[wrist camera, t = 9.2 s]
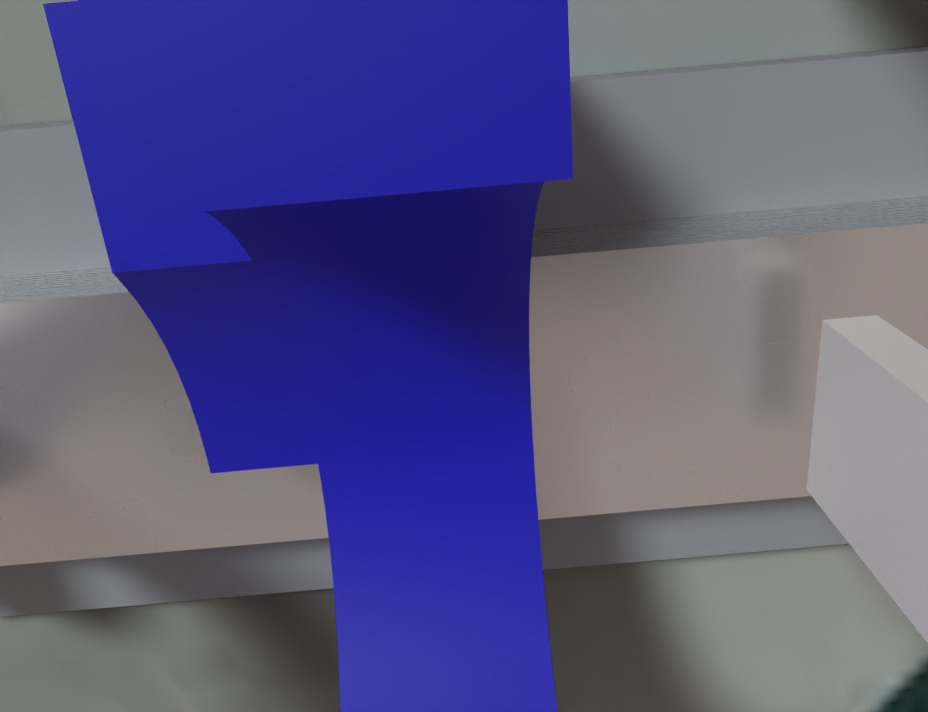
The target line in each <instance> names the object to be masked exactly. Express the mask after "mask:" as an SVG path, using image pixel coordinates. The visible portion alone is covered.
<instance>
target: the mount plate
mask: <svg viewBox="0 0 928 712" xmlns="http://www.w3.org/2000/svg"><path fill="white" fill-rule="evenodd" d="M570 96H571V127H572V158H573V179H565V180H554V181H545V182H544V184H543V186H542V189H541V193H540V196H539V200H538V204H537V210H536V216H535V222H534V230H538V229H549V228H561V227H572V226H584V225H595V224H607V223H619V222H630V221H642V220H653V219H665V218H676V217H688V216H700V215H711V214H723V213H734V212H746V211H757V210H769V209H781V208H792V207H804V206H815V205H827V204H838V203H850V202H862V201H873V200H885V199H896V198H908V197H919V196H928V47H919V48H908V49H896V50H884V51H873V52H861V53H850V54H838V55H827V56H815V57H803V58H792V59H780V60H769V61H757V62H746V63H734V64H722V65H711V66H699V67H688V68H676V69H665V70H653V71H642V72H630V73H618V74H607V75H595V76H584V77H572V78H570ZM98 267H110V262H109V259H108V255H107V251H106V247H105V243H104V239H103V235H102V231H101V227H100V223H99V220H98V216H97V212H96V208H95V204H94V200H93V196H92V192H91V188H90V184H89V180H88V177H87V173H86V169H85V165H84V161H83V157H82V153H81V149H80V145H79V141H78V138H77V134H76V130H75V126H74V122H73V121H63V122H51V123H40V124H28V125H17V126H5V127H0V276H5V275H17V274H29V273H40V272H52V271H63V270H75V269H86V268H98ZM538 522H539V534H540V546H541V558H542V569H543V570H551V569H562V568H574V567H585V566H597V565H608V564H620V563H631V562H643V561H655V560H666V559H678V558H689V557H701V556H712V555H724V554H736V553H747V552H759V551H770V550H782V549H793V548H805V547H817V546H828V545H840V544H849V543H848V542H847V540H846V539H845V538H844V537H843V535H842V534H841V533H840V531H839V530H838V529H837V528H836V526H835V525H834V524H833V523H832V521H831V520H830V519H829V518H828V516H827V515H826V514H825V512H824V511H823V510H822V509H821V507H820V506H819V505H818V504H817V502H816V501H815V500H814V498H813V497H812V496H806V497H794V498H783V499H771V500H760V501H748V502H737V503H725V504H713V505H702V506H690V507H679V508H667V509H656V510H644V511H632V512H621V513H609V514H598V515H586V516H575V517H563V518H551V519H540V520H538ZM331 588H334V587H333V575H332V565H331V555H330V545H329V538H320V539H309V540H297V541H285V542H274V543H262V544H251V545H239V546H228V547H216V548H204V549H193V550H181V551H170V552H158V553H147V554H135V555H123V556H112V557H100V558H89V559H77V560H66V561H54V562H43V563H31V564H19V565H8V566H0V617H7V616H18V615H30V614H42V613H53V612H65V611H76V610H88V609H99V608H111V607H123V606H134V605H146V604H157V603H169V602H180V601H192V600H204V599H215V598H227V597H238V596H250V595H261V594H273V593H284V592H296V591H308V590H319V589H331Z"/></svg>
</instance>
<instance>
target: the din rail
mask: <svg viewBox="0 0 928 712" xmlns="http://www.w3.org/2000/svg"><path fill="white" fill-rule="evenodd" d="M873 315H878V316H879V317H881V318H882V319H883V320H885V321H886V322H888V323H889V324H891V325H892V326H894V327H895V328H897V329H898V330H900V331H901V332H903V333H904V334H906V335H907V336H909V337H910V338H912V339H913V340H915V341H916V342H918V343H919V344H921V345H922V346H924V347H925V348H927V349H928V196H919V197H908V198H896V199H885V200H873V201H862V202H850V203H838V204H827V205H815V206H804V207H792V208H781V209H769V210H757V211H746V212H734V213H723V214H711V215H700V216H688V217H676V218H665V219H653V220H642V221H630V222H619V223H607V224H595V225H584V226H572V227H561V228H549V229H538V230H533V239H532V252H531V267H530V296H529V350H530V387H531V412H532V433H533V450H534V466H535V481H536V496H537V509H538V520H540V519H551V518H563V517H575V516H586V515H598V514H609V513H621V512H632V511H644V510H656V509H667V508H679V507H690V506H702V505H713V504H725V503H737V502H748V501H760V500H771V499H783V498H794V497H806V496H811V495H810V493H809V492H808V491H807V480H808V470H809V459H810V448H811V437H812V426H813V416H814V405H815V394H816V383H817V372H818V361H819V351H820V340H821V329H822V320H827V319H839V318H850V317H862V316H873ZM320 538H329V537H328V529H327V521H326V513H325V505H324V499H323V492H322V485H321V478H320V472H319V466H318V464H311V465H300V466H289V467H277V468H266V469H255V470H244V471H233V472H221V473H210V469H209V465H208V461H207V457H206V453H205V450H204V446H203V443H202V439H201V435H200V432H199V428H198V425H197V422H196V419H195V416H194V414H193V411H192V408H191V405H190V402H189V399H188V396H187V394H186V391H185V389H184V387H183V384H182V382H181V379H180V377H179V374H178V372H177V370H176V368H175V366H174V363H173V361H172V359H171V357H170V355H169V353H168V351H167V349H166V347H165V345H164V343H163V342H162V340H161V338H160V336H159V335H158V333H157V331H156V329H155V328H154V326H153V324H152V322H151V321H150V320H149V318H148V317H147V315H146V314H145V312H144V311H143V310H142V308H141V307H140V305H139V304H138V302H137V301H136V299H135V298H134V297H133V296H132V295H131V294H130V292H129V291H128V290H127V289H126V288H125V287H124V285H123V284H122V283H121V282H120V281H119V280H118V278H117V277H116V276H115V275H114V274H113V273H112V270H111V266H110V267H98V268H86V269H75V270H63V271H52V272H40V273H29V274H17V275H5V276H0V566H8V565H19V564H31V563H43V562H54V561H66V560H77V559H89V558H100V557H112V556H123V555H135V554H147V553H158V552H170V551H181V550H193V549H204V548H216V547H228V546H239V545H251V544H262V543H274V542H285V541H297V540H309V539H320Z"/></svg>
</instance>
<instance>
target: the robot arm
mask: <svg viewBox="0 0 928 712" xmlns="http://www.w3.org/2000/svg"><path fill="white" fill-rule="evenodd" d="M807 491H808V492H809V493H810V495H811V496H812V497H813V498H814V500H815V501H816V502H817V504H818V505H819V506H820V507H821V509H822V510H823V511H824V512H825V514H826V515H827V516H828V518H829V519H830V520H831V521H832V523H833V524H834V525H835V526H836V528H837V529H838V530H839V531H840V533H841V534H842V535H843V537H844V538H845V539H846V540H847V542H848V543H849V544H850V545H851V547H852V548H853V549H854V551H855V552H856V553H857V554H858V556H859V557H860V558H861V559H862V561H863V562H864V563H865V565H866V566H867V567H868V568H869V570H870V571H871V572H872V573H873V575H874V576H875V577H876V579H877V580H878V581H879V582H880V584H881V585H882V586H883V587H884V589H885V590H886V591H887V593H888V594H889V595H890V596H891V598H892V599H893V600H894V601H895V603H896V604H897V605H898V606H899V608H900V609H901V610H902V612H903V613H904V614H905V615H906V617H907V618H908V619H909V620H910V622H911V623H912V624H913V626H914V627H915V628H916V629H917V631H918V632H919V633H920V634H921V636H922V637H923V638H924V640H925V641H926V642H927V643H928V349H927V348H925V347H924V346H922V345H921V344H919V343H918V342H916V341H915V340H913V339H912V338H910V337H909V336H907V335H906V334H904V333H903V332H901V331H900V330H898V329H897V328H895V327H894V326H892V325H891V324H889V323H888V322H886V321H885V320H883V319H882V318H881V317H879V316H878V315H873V316H862V317H850V318H839V319H827V320H822V329H821V340H820V351H819V361H818V372H817V383H816V394H815V405H814V416H813V426H812V437H811V448H810V459H809V470H808V480H807Z"/></svg>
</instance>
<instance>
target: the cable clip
mask: <svg viewBox="0 0 928 712" xmlns="http://www.w3.org/2000/svg"><path fill="white" fill-rule="evenodd" d="M43 5H44V9H45V13H46V17H47V21H48V24H49V28H50V32H51V36H52V40H53V44H54V48H55V52H56V56H57V60H58V63H59V67H60V71H61V75H62V79H63V83H64V87H65V91H66V95H67V99H68V102H69V106H70V110H71V114H72V118H73V122H74V126H75V130H76V134H77V138H78V141H79V145H80V149H81V153H82V157H83V161H84V165H85V169H86V173H87V177H88V180H89V184H90V188H91V192H92V196H93V200H94V204H95V208H96V212H97V216H98V220H99V223H100V227H101V231H102V235H103V239H104V243H105V247H106V251H107V255H108V259H109V262H110V266H111V270H112V273H113V274H114V275H115V276H116V277H117V278H118V280H119V281H120V282H121V283H122V284H123V285H124V287H125V288H126V289H127V290H128V291H129V292H130V294H131V295H132V296H133V297H134V298H135V299H136V301H137V302H138V304H139V305H140V307H141V308H142V310H143V311H144V312H145V314H146V315H147V317H148V318H149V320H150V321H151V322H152V324H153V326H154V328H155V329H156V331H157V333H158V335H159V336H160V338H161V340H162V342H163V343H164V345H165V347H166V349H167V351H168V353H169V355H170V357H171V359H172V361H173V363H174V366H175V368H176V370H177V372H178V374H179V377H180V379H181V382H182V384H183V387H184V389H185V391H186V394H187V396H188V399H189V402H190V405H191V408H192V411H193V414H194V416H195V419H196V422H197V425H198V428H199V432H200V435H201V439H202V443H203V446H204V450H205V453H206V457H207V461H208V465H209V469H210V473H221V472H233V471H244V470H255V469H266V468H277V467H289V466H300V465H311V464H318V466H319V472H320V478H321V485H322V492H323V499H324V505H325V513H326V521H327V529H328V537H329V545H330V555H331V565H332V575H333V587H334V599H335V611H336V627H337V643H338V665H339V690H340V712H558V711H557V703H556V694H555V685H554V676H553V668H552V658H551V649H550V640H549V630H548V621H547V610H546V600H545V590H544V579H543V569H542V558H541V546H540V534H539V522H538V509H537V496H536V481H535V466H534V450H533V433H532V412H531V387H530V350H529V296H530V267H531V252H532V239H533V230H534V222H535V216H536V210H537V204H538V200H539V196H540V193H541V189H542V186H543V184H544V182H545V181H554V180H565V179H573V158H572V127H571V96H570V64H569V33H568V2H567V0H78V1H71V2H60V3H49V4H43Z"/></svg>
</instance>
